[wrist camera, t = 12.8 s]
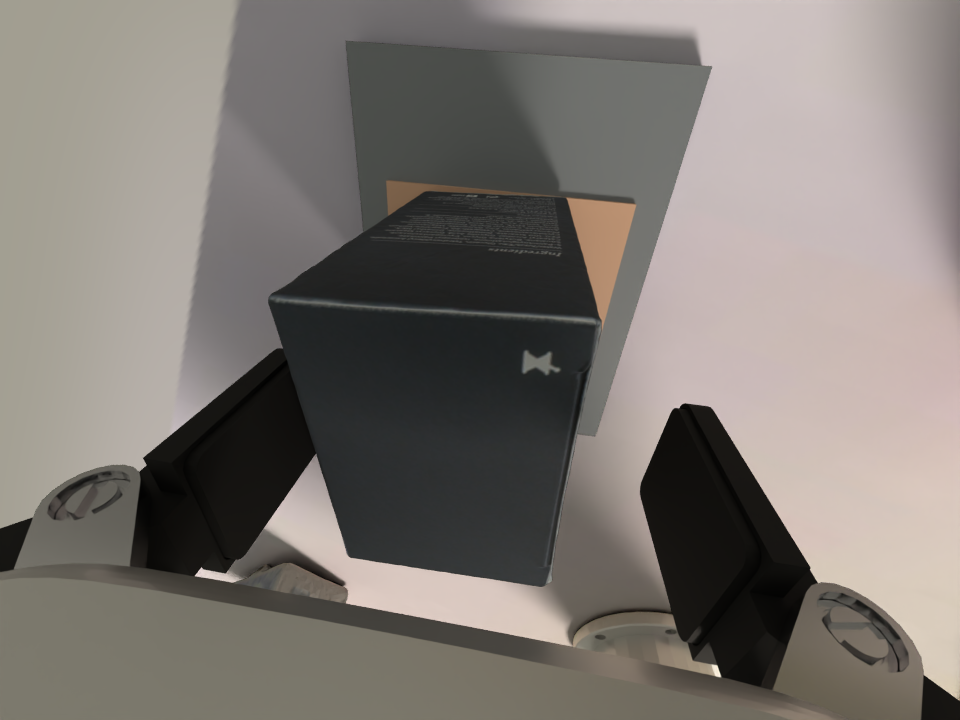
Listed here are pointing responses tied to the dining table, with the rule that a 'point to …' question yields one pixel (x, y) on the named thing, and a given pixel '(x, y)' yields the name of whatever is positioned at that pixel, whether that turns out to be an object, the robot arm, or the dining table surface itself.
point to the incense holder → (295, 582)
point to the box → (447, 380)
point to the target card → (533, 152)
